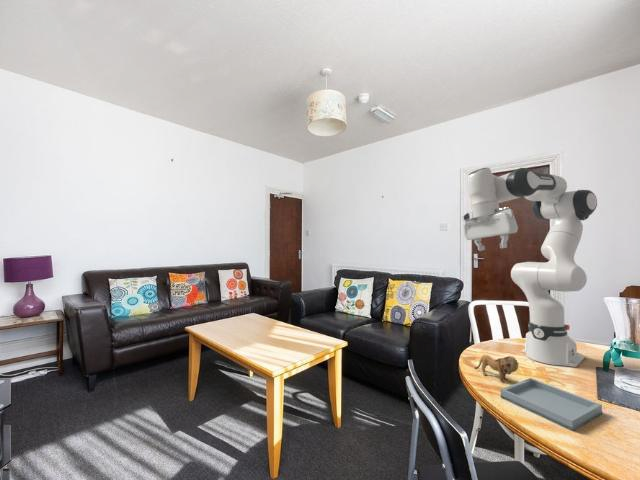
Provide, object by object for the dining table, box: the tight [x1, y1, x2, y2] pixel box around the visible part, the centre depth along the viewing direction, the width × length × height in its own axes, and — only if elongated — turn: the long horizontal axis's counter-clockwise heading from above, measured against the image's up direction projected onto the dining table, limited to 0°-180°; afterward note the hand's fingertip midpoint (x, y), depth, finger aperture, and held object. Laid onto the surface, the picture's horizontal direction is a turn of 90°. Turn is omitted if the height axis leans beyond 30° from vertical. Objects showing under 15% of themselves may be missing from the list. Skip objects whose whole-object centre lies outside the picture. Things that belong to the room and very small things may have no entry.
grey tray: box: [500, 377, 603, 432], centre depth 84 cm, size 16×18×2 cm
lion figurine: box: [473, 354, 520, 384], centre depth 102 cm, size 15×5×9 cm, turn 34°
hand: (492, 249), depth 105 cm, fingers open, 8 cm apart
